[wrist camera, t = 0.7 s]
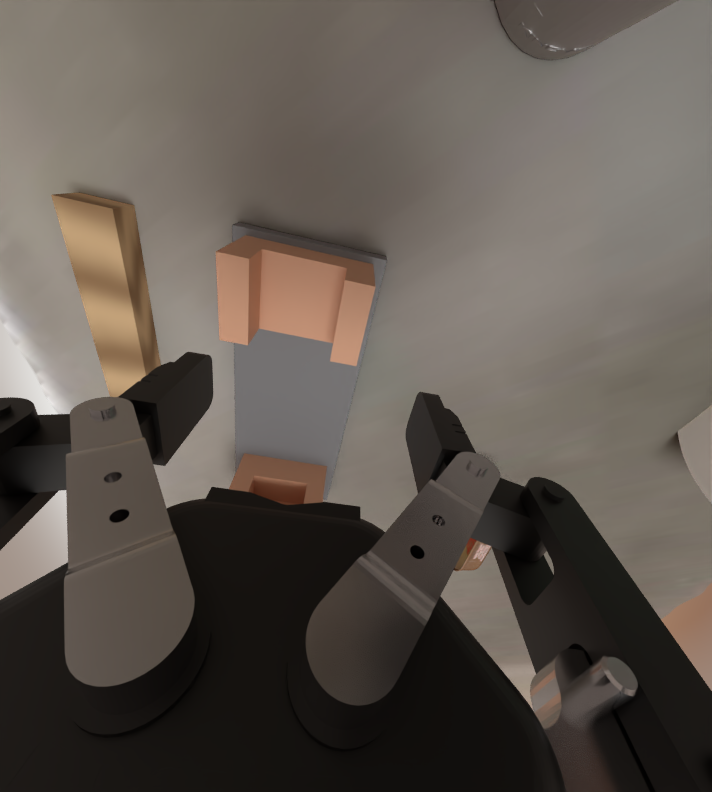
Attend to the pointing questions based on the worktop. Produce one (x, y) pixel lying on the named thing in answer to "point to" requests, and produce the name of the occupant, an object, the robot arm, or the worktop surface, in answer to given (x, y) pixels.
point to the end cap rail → (293, 354)
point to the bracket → (699, 450)
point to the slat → (111, 285)
